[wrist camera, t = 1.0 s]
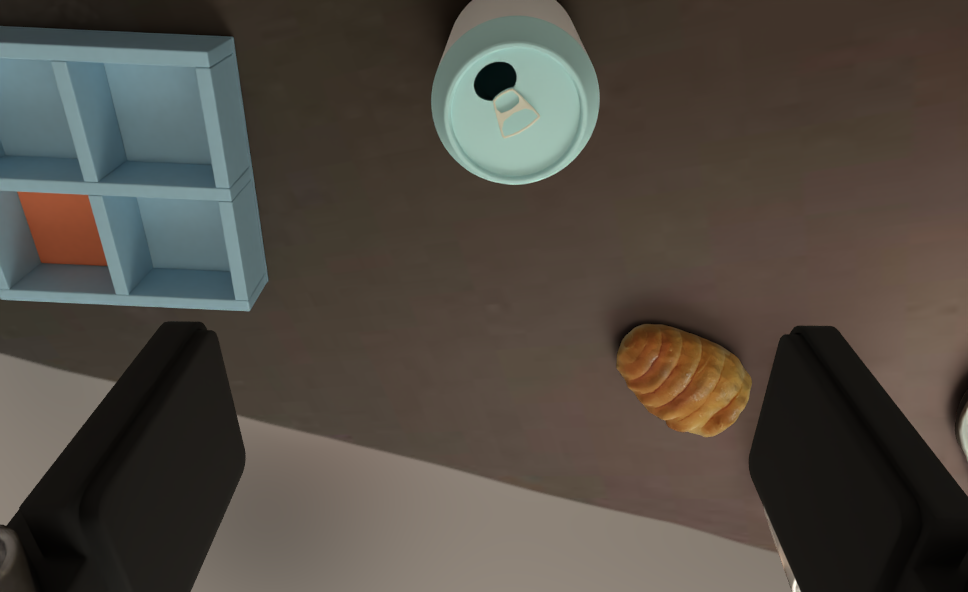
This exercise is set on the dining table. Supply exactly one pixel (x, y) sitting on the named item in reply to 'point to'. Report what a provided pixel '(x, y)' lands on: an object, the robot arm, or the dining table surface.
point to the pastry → (684, 378)
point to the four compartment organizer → (126, 171)
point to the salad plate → (962, 424)
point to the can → (514, 91)
